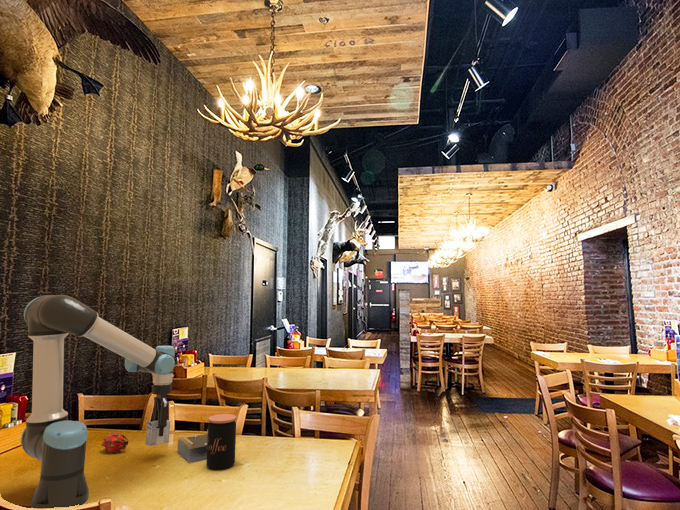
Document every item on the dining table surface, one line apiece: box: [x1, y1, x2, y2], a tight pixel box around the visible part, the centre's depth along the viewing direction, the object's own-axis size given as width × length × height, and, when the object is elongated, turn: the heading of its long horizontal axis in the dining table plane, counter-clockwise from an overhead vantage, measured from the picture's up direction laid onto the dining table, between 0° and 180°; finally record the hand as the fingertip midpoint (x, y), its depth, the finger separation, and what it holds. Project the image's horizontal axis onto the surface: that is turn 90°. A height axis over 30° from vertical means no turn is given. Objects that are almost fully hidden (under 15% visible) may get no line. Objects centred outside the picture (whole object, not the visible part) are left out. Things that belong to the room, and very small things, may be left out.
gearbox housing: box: [176, 429, 208, 464], centre depth 177 cm, size 16×17×7 cm
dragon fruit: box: [101, 431, 130, 454], centre depth 179 cm, size 8×8×12 cm
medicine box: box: [145, 419, 171, 447], centre depth 173 cm, size 8×4×9 cm, turn 139°
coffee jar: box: [206, 413, 237, 471], centre depth 164 cm, size 11×11×18 cm
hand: (157, 442), depth 172 cm, fingers closed on medicine box, 5 cm apart
